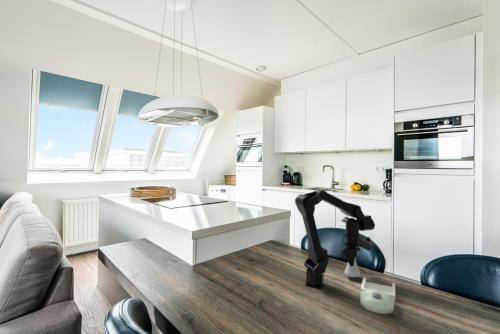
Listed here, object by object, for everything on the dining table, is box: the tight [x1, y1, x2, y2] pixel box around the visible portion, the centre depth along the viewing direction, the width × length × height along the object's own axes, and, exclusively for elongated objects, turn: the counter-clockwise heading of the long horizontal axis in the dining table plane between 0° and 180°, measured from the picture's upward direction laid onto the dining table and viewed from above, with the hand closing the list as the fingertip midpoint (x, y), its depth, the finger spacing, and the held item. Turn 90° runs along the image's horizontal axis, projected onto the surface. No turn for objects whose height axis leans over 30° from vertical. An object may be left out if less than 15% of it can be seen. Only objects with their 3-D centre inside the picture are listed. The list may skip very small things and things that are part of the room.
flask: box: [343, 257, 362, 278], centre depth 117 cm, size 7×7×10 cm
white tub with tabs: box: [359, 276, 396, 315], centre depth 100 cm, size 12×23×4 cm, turn 151°
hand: (352, 265), depth 117 cm, fingers closed on flask, 3 cm apart
